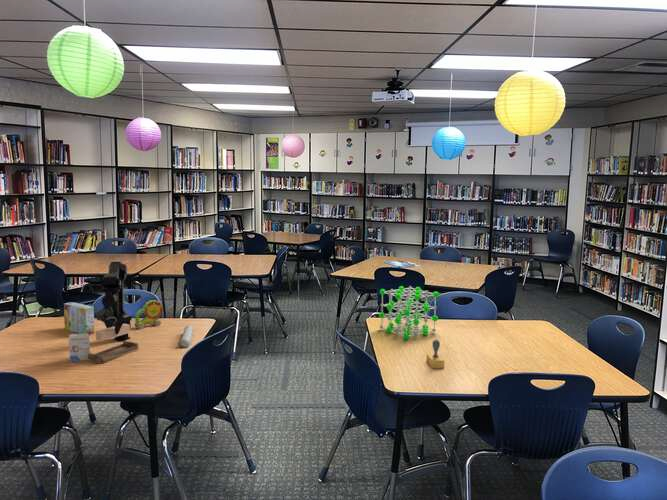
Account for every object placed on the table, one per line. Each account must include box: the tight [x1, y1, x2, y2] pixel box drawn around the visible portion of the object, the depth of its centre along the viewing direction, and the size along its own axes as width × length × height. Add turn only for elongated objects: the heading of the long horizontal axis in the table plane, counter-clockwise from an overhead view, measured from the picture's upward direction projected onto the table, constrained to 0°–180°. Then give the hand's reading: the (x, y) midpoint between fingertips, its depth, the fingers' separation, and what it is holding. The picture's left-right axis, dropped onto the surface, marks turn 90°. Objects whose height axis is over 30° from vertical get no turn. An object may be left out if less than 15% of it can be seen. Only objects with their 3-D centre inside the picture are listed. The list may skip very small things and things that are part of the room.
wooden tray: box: [88, 340, 139, 365], centre depth 249 cm, size 9×22×3 cm, turn 156°
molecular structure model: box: [378, 285, 440, 341], centre depth 293 cm, size 24×25×24 cm
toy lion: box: [134, 299, 164, 330], centre depth 297 cm, size 16×5×15 cm, turn 133°
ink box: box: [68, 333, 91, 363], centre depth 242 cm, size 9×5×12 cm, turn 117°
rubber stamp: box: [426, 339, 445, 369], centre depth 241 cm, size 10×6×12 cm, turn 5°
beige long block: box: [95, 324, 131, 342], centre depth 248 cm, size 4×16×4 cm, turn 151°
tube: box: [180, 324, 195, 348], centre depth 273 cm, size 5×5×25 cm
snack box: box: [63, 301, 95, 335], centre depth 286 cm, size 21×6×15 cm, turn 58°
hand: (113, 333), depth 248 cm, fingers closed on beige long block, 4 cm apart
